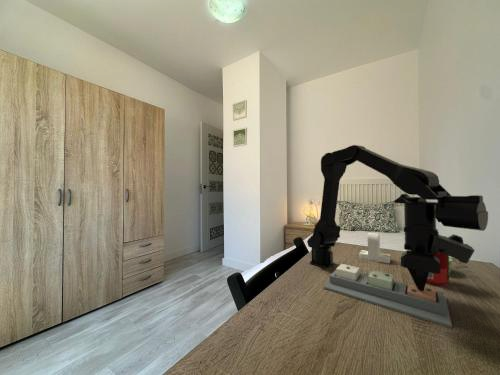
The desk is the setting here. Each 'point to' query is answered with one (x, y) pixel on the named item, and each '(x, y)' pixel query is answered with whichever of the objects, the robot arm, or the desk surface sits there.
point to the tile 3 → (421, 293)
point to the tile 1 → (348, 272)
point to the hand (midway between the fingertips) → (420, 289)
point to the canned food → (444, 276)
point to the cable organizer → (374, 250)
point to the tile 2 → (381, 280)
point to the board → (393, 298)
